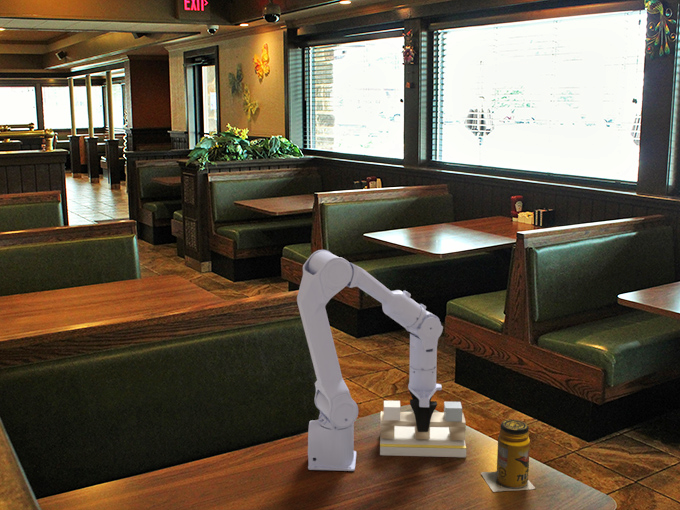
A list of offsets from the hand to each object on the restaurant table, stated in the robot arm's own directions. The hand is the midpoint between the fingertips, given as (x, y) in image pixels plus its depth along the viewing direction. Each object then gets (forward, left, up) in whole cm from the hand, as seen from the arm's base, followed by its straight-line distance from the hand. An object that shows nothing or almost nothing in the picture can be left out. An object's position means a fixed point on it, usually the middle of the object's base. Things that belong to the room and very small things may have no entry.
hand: (422, 425), depth 151 cm
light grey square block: (+6, 0, +2) cm, 7 cm away
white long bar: (0, 0, -2) cm, 2 cm away
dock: (0, 0, -5) cm, 5 cm away
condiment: (+16, -15, -5) cm, 22 cm away
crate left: (-7, 0, +2) cm, 7 cm away
